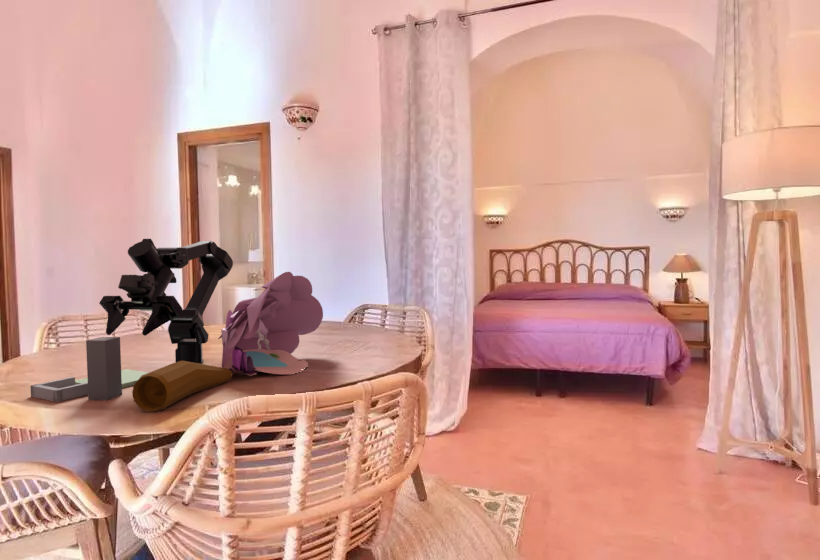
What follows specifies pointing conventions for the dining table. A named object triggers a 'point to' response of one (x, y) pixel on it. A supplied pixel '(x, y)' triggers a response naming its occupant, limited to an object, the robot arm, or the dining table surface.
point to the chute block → (104, 368)
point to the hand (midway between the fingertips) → (125, 334)
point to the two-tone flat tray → (76, 386)
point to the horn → (176, 383)
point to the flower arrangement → (271, 327)
